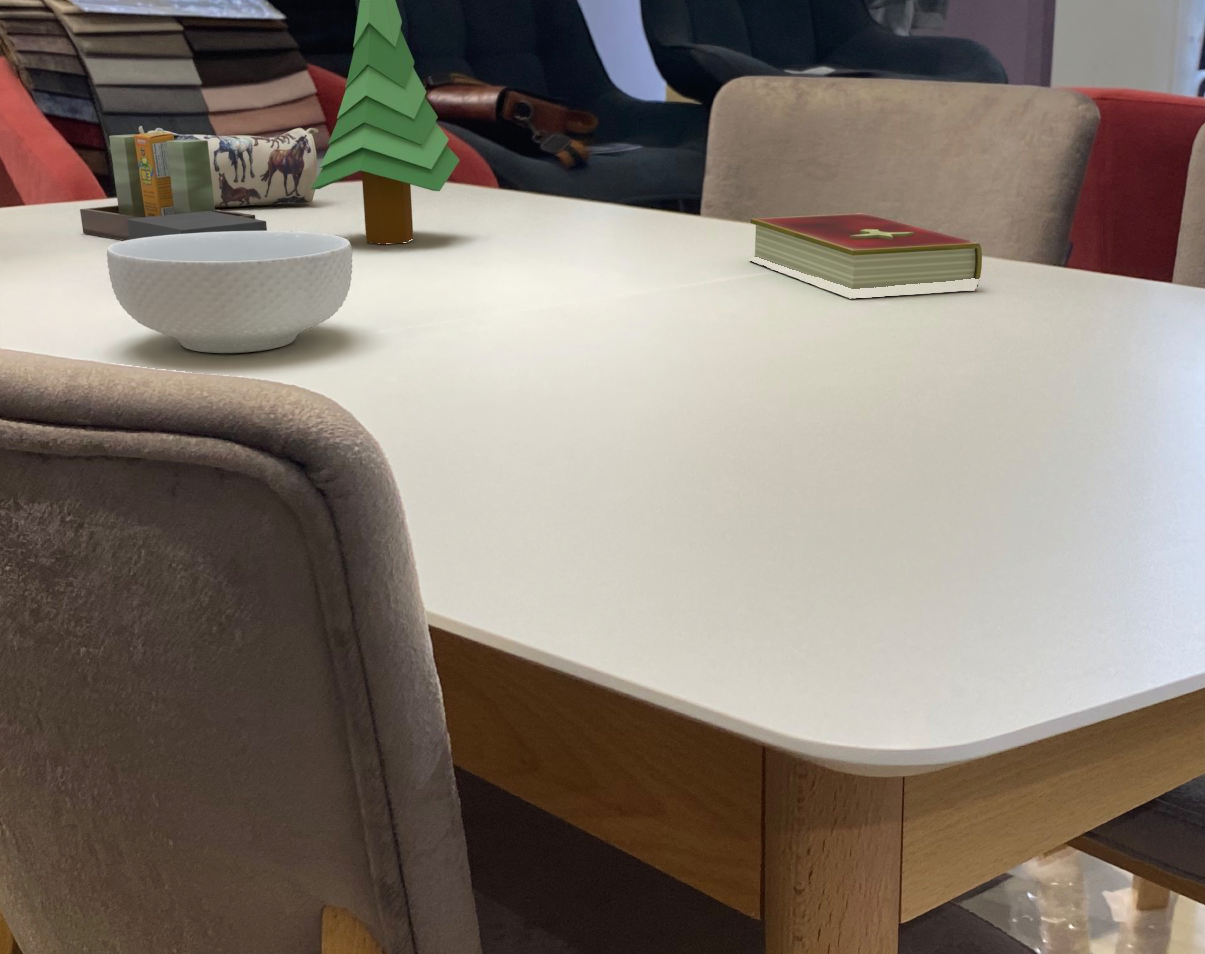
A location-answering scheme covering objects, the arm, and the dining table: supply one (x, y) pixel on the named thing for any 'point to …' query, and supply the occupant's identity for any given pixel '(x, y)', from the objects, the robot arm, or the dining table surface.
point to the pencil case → (260, 167)
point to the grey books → (191, 224)
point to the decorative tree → (386, 127)
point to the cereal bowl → (231, 285)
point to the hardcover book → (865, 250)
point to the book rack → (111, 221)
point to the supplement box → (155, 173)
